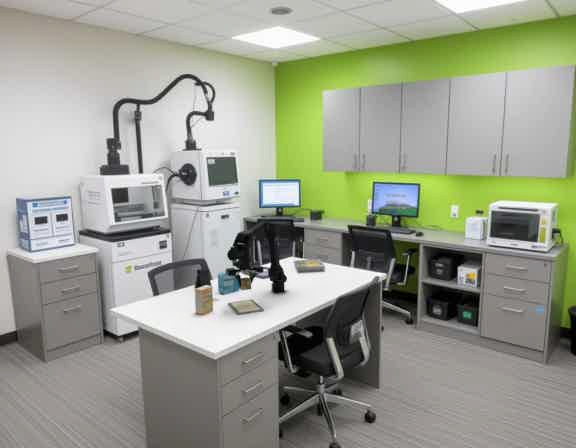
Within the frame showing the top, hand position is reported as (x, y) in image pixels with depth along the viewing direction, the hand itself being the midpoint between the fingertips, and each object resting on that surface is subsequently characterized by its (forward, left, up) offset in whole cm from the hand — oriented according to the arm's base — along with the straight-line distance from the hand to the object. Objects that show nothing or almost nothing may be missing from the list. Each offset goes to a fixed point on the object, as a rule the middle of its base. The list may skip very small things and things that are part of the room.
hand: (245, 286), depth 235 cm
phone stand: (+12, -43, -11) cm, 46 cm away
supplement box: (+21, -2, -11) cm, 24 cm away
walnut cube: (0, 0, -1) cm, 1 cm away
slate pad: (0, 0, -11) cm, 11 cm away
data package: (0, -30, -12) cm, 32 cm away
